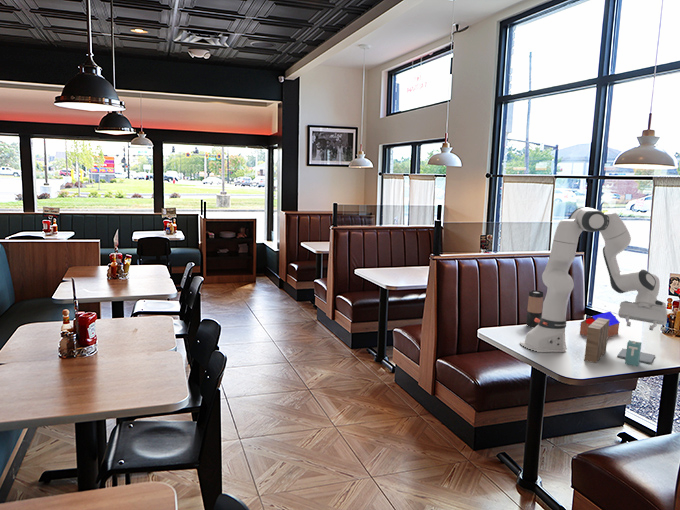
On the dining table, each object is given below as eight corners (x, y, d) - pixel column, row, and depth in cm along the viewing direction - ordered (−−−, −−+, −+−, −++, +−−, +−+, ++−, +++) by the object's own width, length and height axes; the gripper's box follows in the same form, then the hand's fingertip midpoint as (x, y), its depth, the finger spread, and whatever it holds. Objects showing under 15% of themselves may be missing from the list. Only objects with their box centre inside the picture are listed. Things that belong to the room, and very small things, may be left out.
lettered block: (637, 366, 235) (639, 344, 234) (624, 363, 238) (627, 342, 237) (639, 363, 240) (641, 342, 238) (626, 360, 243) (629, 339, 241)
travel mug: (541, 328, 291) (544, 293, 288) (527, 327, 292) (530, 292, 289) (539, 324, 298) (542, 290, 295) (525, 323, 300) (528, 289, 297)
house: (618, 334, 286) (621, 313, 284) (600, 340, 274) (603, 318, 272) (597, 328, 295) (599, 308, 293) (578, 334, 283) (580, 313, 281)
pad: (650, 364, 239) (651, 362, 239) (617, 357, 247) (617, 355, 247) (655, 356, 250) (655, 354, 250) (622, 349, 258) (622, 348, 258)
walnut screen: (595, 362, 238) (599, 329, 236) (584, 360, 241) (587, 327, 239) (605, 351, 255) (609, 319, 253) (594, 348, 258) (598, 317, 256)
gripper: (620, 296, 256) (614, 319, 250) (669, 303, 244) (664, 328, 238) (621, 303, 260) (615, 326, 254) (669, 311, 248) (664, 335, 242)
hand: (639, 327), depth 246 cm, fingers open, 8 cm apart
